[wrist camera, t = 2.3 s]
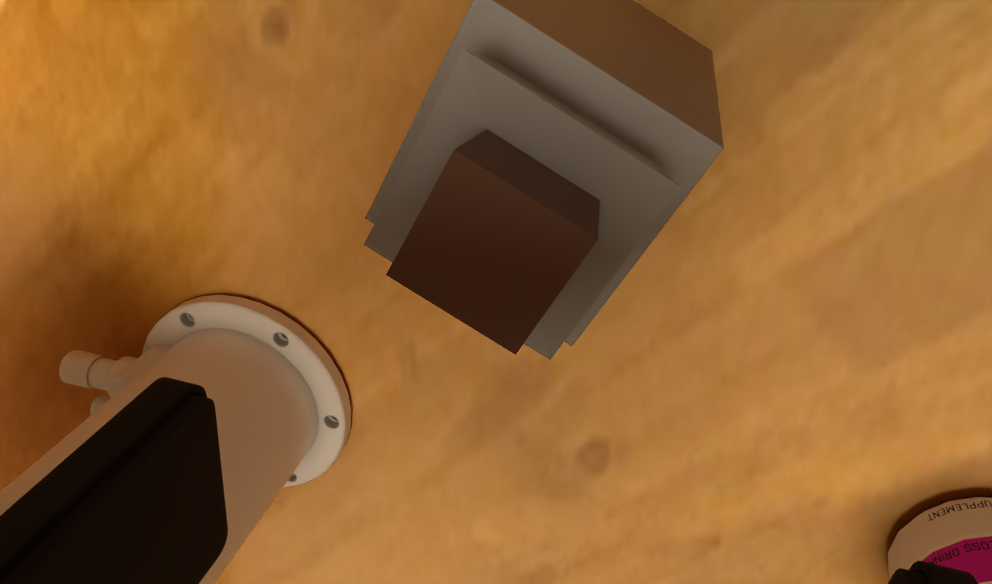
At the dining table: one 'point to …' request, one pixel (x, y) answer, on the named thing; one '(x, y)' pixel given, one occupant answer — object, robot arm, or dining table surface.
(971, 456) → the dining table surface
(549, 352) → the perfume bottle
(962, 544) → the supplement can
